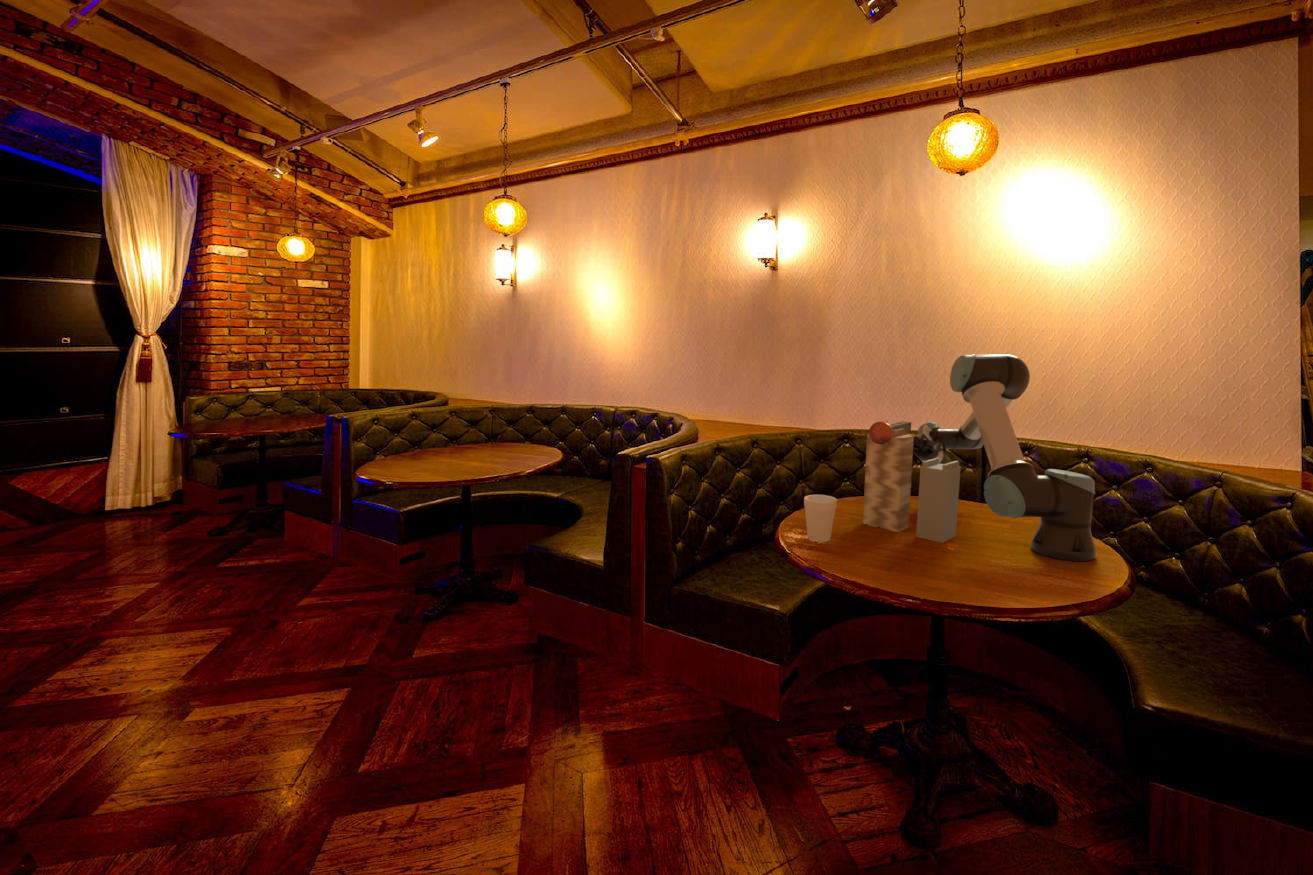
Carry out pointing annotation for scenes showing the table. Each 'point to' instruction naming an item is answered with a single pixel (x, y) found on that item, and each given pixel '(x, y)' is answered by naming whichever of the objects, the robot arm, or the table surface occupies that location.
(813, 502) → the foam cup
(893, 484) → the beige patterned tall block
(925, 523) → the tall grey block
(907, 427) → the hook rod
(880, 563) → the table surface
